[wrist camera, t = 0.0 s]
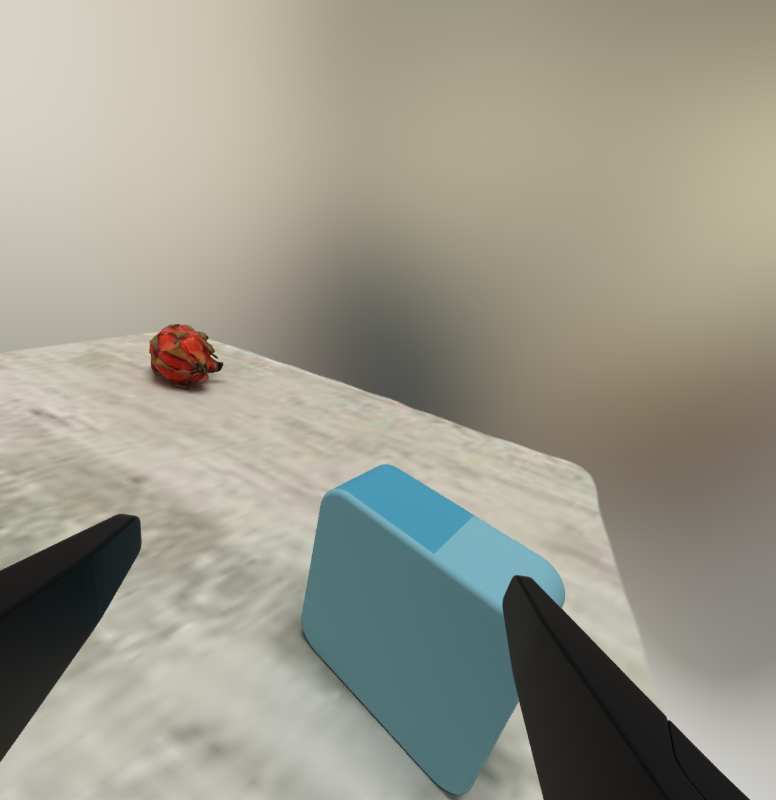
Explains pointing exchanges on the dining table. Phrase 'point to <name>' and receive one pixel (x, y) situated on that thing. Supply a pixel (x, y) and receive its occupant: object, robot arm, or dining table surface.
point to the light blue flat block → (419, 616)
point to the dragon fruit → (182, 355)
